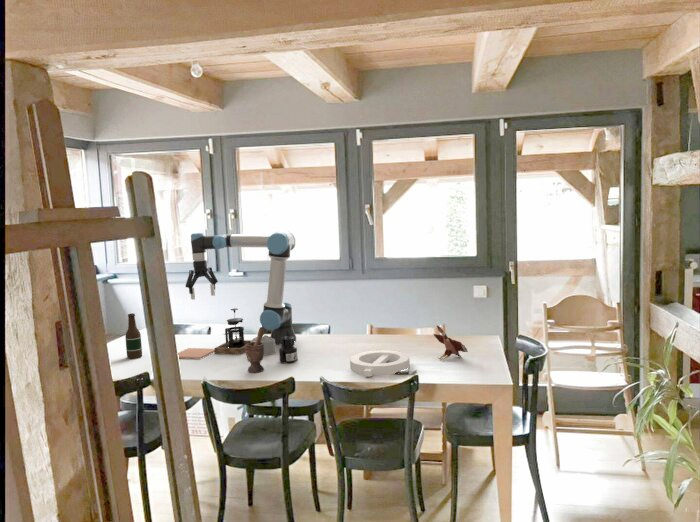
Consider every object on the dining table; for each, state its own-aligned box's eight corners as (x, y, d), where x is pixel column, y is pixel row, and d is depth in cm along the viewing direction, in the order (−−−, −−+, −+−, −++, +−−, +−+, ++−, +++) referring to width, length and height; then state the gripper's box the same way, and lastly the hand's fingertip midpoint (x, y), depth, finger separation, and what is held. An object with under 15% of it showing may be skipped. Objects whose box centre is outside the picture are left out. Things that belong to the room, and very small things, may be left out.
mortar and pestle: (252, 366, 278) (250, 326, 277) (269, 366, 277) (267, 326, 275) (244, 373, 267) (241, 331, 265) (261, 373, 266) (259, 331, 264)
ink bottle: (290, 364, 278) (289, 340, 277) (275, 363, 283) (274, 339, 282) (301, 359, 287) (300, 336, 286) (287, 358, 291) (285, 335, 290)
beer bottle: (145, 355, 310) (141, 312, 307) (135, 359, 302) (132, 315, 300) (133, 355, 312) (130, 312, 310) (124, 359, 305) (120, 315, 303)
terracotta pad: (217, 350, 314) (217, 348, 314) (200, 359, 297) (200, 357, 297) (188, 349, 319) (188, 348, 319) (170, 358, 301) (170, 356, 301)
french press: (249, 348, 316) (247, 307, 314) (240, 352, 308) (237, 310, 306) (232, 346, 321) (229, 306, 319) (222, 351, 312) (219, 310, 310)
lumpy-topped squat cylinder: (257, 349, 311) (256, 334, 311) (279, 350, 307) (278, 335, 306) (248, 354, 302) (247, 338, 301) (270, 355, 297) (269, 339, 297)
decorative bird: (413, 348, 284) (422, 320, 285) (443, 357, 291) (451, 330, 292) (443, 362, 258) (453, 330, 258) (474, 371, 264) (484, 341, 265)
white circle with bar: (365, 380, 249) (365, 369, 249) (341, 365, 275) (340, 355, 274) (420, 370, 260) (420, 360, 260) (392, 356, 286) (391, 347, 285)
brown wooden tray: (256, 345, 321) (256, 340, 321) (241, 354, 303) (241, 348, 303) (231, 345, 325) (230, 339, 325) (214, 353, 307) (214, 348, 307)
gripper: (213, 257, 332) (217, 293, 334) (176, 262, 313) (180, 300, 315) (221, 257, 327) (225, 294, 329) (184, 262, 308) (188, 301, 310)
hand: (203, 297), depth 322 cm, fingers open, 13 cm apart
